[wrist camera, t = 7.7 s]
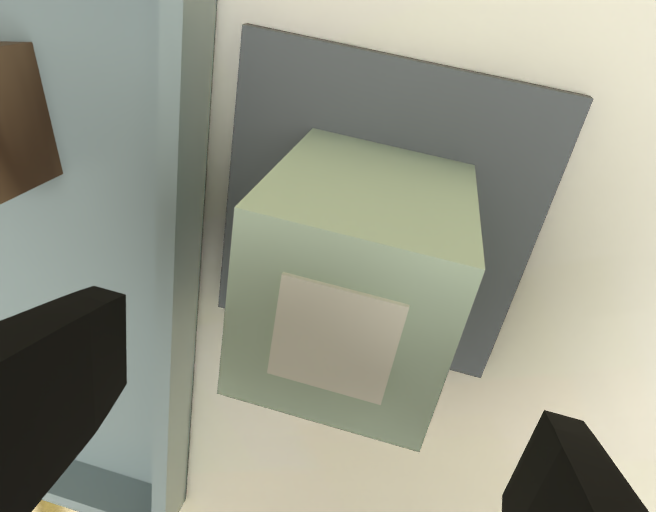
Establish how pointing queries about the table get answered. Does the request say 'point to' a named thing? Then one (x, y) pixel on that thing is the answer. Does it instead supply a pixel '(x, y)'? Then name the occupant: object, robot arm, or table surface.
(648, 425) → the table surface
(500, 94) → the mat
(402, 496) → the table surface
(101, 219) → the tray
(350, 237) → the pale green box
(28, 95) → the walnut block
